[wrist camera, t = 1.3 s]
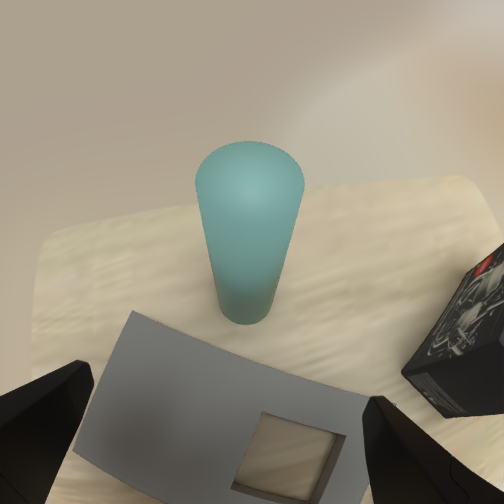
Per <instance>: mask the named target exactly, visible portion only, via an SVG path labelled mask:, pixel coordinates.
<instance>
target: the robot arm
mask: <svg viewBox="0 0 504 504" xmlns="http://www.w3.org/2000/svg"><path fill="white" fill-rule="evenodd" d="M93 387H94V379H93V376H92V372H91V368H90V365H89V363H87V362H85V361H81V360H76V361H73V362H71V363H69V364H67V365H65V366H63V367H61V368H59V369H57V370H55V371H53V372H51V373H49V374H46V375H44V376H42V377H40V378H38V379H36V380H34V381H32V382H30V383H28V384H26V385H23V386H21V387H19V388H17V389H15V390H13V391H10V392H9V393H6V394H4V395H2V396H0V504H45V502H46V499H47V497H48V494H49V492H50V489H51V487H52V485H53V482H54V480H55V478H56V475H57V473H58V471H59V468H60V466H61V464H62V462H63V459H64V457H65V455H66V453H67V451H68V448H69V446H70V444H71V442H72V440H73V438H74V436H75V434H76V431H77V429H78V427H79V425H80V423H81V420H82V418H83V415H84V412H85V409H86V406H87V403H88V401H89V398H90V395H91V392H92V390H93ZM362 425H363V437H364V449H365V459H366V465H367V470H368V475H369V480H370V486H371V491H372V497H373V502H374V504H504V492H503V491H501V490H500V489H498V488H496V487H495V486H493V485H492V484H490V483H489V482H487V481H486V480H484V479H483V478H481V477H480V476H478V475H477V474H475V473H474V472H472V471H471V470H470V469H468V468H467V467H466V466H465V465H463V464H462V463H461V462H460V461H459V460H457V459H456V458H455V457H454V456H452V455H451V454H450V453H449V452H448V451H447V450H445V449H444V448H443V447H442V446H441V445H440V444H438V443H437V442H436V441H435V440H434V439H433V438H431V437H430V436H429V435H428V434H427V433H426V432H424V431H423V430H422V429H421V428H420V427H419V426H418V425H416V424H415V423H414V422H413V421H412V420H411V419H409V418H408V417H407V416H406V415H405V414H404V413H403V412H401V411H400V410H399V409H398V408H397V407H396V406H395V405H393V404H392V403H391V402H390V401H389V400H388V399H387V398H386V397H384V396H371V397H370V398H369V400H368V403H367V405H366V407H365V409H364V412H363V414H362Z"/></svg>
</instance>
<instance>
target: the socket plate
mask: <svg viewBox="0 0 504 504" xmlns="http://www.w3.org/2000/svg"><path fill="white" fill-rule="evenodd" d="M369 398H370V397H366V396H362V395H359V394H355V393H351V392H347V391H344V390H340V389H337V388H333V387H330V386H327V385H323V384H320V383H317V382H313V381H310V380H307V379H304V378H301V377H298V376H295V375H291V374H288V373H285V372H283V371H280V370H277V369H274V368H271V367H268V366H265V365H262V364H260V363H257V362H254V361H251V360H249V359H246V358H243V357H240V356H238V355H235V354H233V353H230V352H227V351H225V350H222V349H220V348H217V347H215V346H212V345H210V344H207V343H205V342H202V341H200V340H198V339H195V338H193V337H190V336H188V335H186V334H183V333H181V332H179V331H177V330H174V329H172V328H170V327H168V326H165V325H163V324H161V323H159V322H156V321H154V320H152V319H150V318H148V317H146V316H144V315H141V314H139V313H137V312H135V311H133V310H132V312H131V314H130V316H129V318H128V320H127V322H126V324H125V326H124V328H123V330H122V332H121V335H120V337H119V339H118V341H117V343H116V345H115V348H114V350H113V352H112V354H111V356H110V359H109V361H108V363H107V365H106V368H105V370H104V372H103V375H102V377H101V379H100V382H99V384H98V386H97V389H96V391H95V393H94V396H93V398H92V401H91V403H90V406H89V408H88V411H87V413H86V416H85V418H84V421H83V424H82V426H81V429H80V431H79V434H78V437H77V439H76V442H75V445H74V448H73V451H74V452H75V453H77V454H78V455H80V456H81V457H83V458H84V459H86V460H87V461H89V462H90V463H92V464H93V465H95V466H97V467H98V468H100V469H101V470H103V471H105V472H106V473H108V474H110V475H112V476H113V477H115V478H117V479H119V480H120V481H122V482H124V483H126V484H128V485H130V486H131V487H133V488H135V489H137V490H139V491H141V492H143V493H145V494H147V495H149V496H151V497H153V498H156V499H158V500H160V501H162V502H164V503H167V504H360V502H361V500H362V498H363V496H364V493H365V491H366V489H367V486H368V484H369V482H370V480H369V475H368V470H367V465H366V459H365V449H364V437H363V425H362V414H363V412H364V409H365V407H366V405H367V403H368V400H369ZM392 404H393V405H395V406H396V404H395V403H392ZM262 412H265V413H268V414H271V415H274V416H277V417H281V418H284V419H287V420H290V421H294V422H297V423H300V424H304V425H307V426H311V427H315V428H318V429H322V430H326V431H330V432H334V433H338V435H337V438H336V440H335V443H334V445H333V448H332V451H331V453H330V456H329V458H328V461H327V463H326V466H325V468H324V470H323V473H322V475H321V477H320V480H319V482H318V484H317V487H316V489H315V491H314V493H313V495H312V498H311V500H310V502H304V501H299V500H295V499H290V498H286V497H282V496H278V495H274V494H270V493H267V492H263V491H260V490H256V489H253V488H249V487H246V486H243V485H240V484H237V483H234V482H233V481H234V479H235V476H236V474H237V472H238V470H239V467H240V465H241V463H242V460H243V458H244V456H245V453H246V451H247V449H248V446H249V444H250V442H251V439H252V437H253V434H254V432H255V430H256V427H257V425H258V422H259V420H260V417H261V415H262Z"/></svg>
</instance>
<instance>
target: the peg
mask: <svg viewBox="0 0 504 504" xmlns="http://www.w3.org/2000/svg"><path fill="white" fill-rule="evenodd" d="M195 186H196V192H197V197H198V203H199V208H200V213H201V218H202V223H203V228H204V233H205V238H206V243H207V247H208V252H209V257H210V262H211V266H212V271H213V275H214V280H215V285H216V289H217V294H218V298H219V302H220V307H221V309H222V311H223V313H224V314H225V316H226V317H227V318H229V319H230V320H231V321H233V322H235V323H238V324H243V325H249V324H254V323H257V322H259V321H260V320H262V319H263V318H264V317H265V316H266V315H267V314H268V312H269V310H270V308H271V305H272V301H273V298H274V295H275V291H276V288H277V285H278V281H279V278H280V274H281V271H282V267H283V264H284V260H285V257H286V253H287V250H288V246H289V243H290V239H291V236H292V232H293V228H294V225H295V221H296V218H297V214H298V210H299V207H300V203H301V199H302V195H303V192H304V177H303V173H302V171H301V168H300V167H299V165H298V164H297V162H296V161H295V160H294V159H293V158H292V157H291V156H290V155H289V154H287V153H286V152H285V151H283V150H281V149H280V148H277V147H275V146H273V145H270V144H266V143H262V142H255V141H254V142H253V141H244V142H236V143H232V144H228V145H225V146H223V147H221V148H219V149H217V150H215V151H214V152H212V153H211V154H210V155H208V156H207V157H206V158H205V159H204V161H203V162H202V163H201V165H200V167H199V169H198V171H197V174H196V179H195Z"/></svg>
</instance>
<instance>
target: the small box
mask: <svg viewBox="0 0 504 504" xmlns="http://www.w3.org/2000/svg"><path fill="white" fill-rule="evenodd" d="M402 374H403V375H404V376H405V378H406V379H407V380H408V381H410V383H411V384H412V385H413V386H414V387H415V388H416V389H417V390H418V391H419V392H420V393H421V394H422V395H423V396H424V397H425V398H426V399H427V400H428V401H429V402H430V403H431V404H432V405H433V406H434V407H435V408H436V409H437V410H438V411H439V412H440V413H441V414H442V415H443V416H444V417H445V418H446V419H448V418H453V417H455V418H457V417H471V416H485V415H497V414H504V243H503V244H502V245H501V246H500V247H498V248H497V249H496V250H495V251H494V252H492V253H491V254H490V255H488V256H487V257H486V258H485V259H484V260H483V261H481V262H480V263H479V264H478V265H476V266H475V267H474V268H472V269H471V270H470V271H468V272H467V274H466V276H465V277H464V279H463V281H462V282H461V284H460V286H459V288H458V289H457V291H456V293H455V294H454V296H453V298H452V300H451V301H450V303H449V304H448V306H447V308H446V309H445V311H444V312H443V314H442V315H441V317H440V318H439V320H438V321H437V323H436V325H435V326H434V327H433V329H432V330H431V332H430V333H429V335H428V336H427V338H426V339H425V340H424V342H423V343H422V345H421V346H420V347H419V349H418V350H417V352H416V353H415V354H414V356H413V357H412V358H411V360H410V361H409V362H408V363H407V365H406V366H405V367H404V369H403V370H402Z"/></svg>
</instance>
